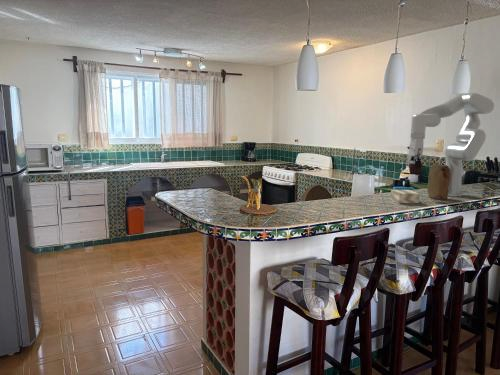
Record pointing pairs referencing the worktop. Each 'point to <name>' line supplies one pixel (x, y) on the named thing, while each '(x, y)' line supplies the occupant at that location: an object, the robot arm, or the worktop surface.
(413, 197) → the maple block
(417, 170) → the mate gourd
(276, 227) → the worktop surface
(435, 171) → the block
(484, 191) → the worktop surface
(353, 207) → the worktop surface
